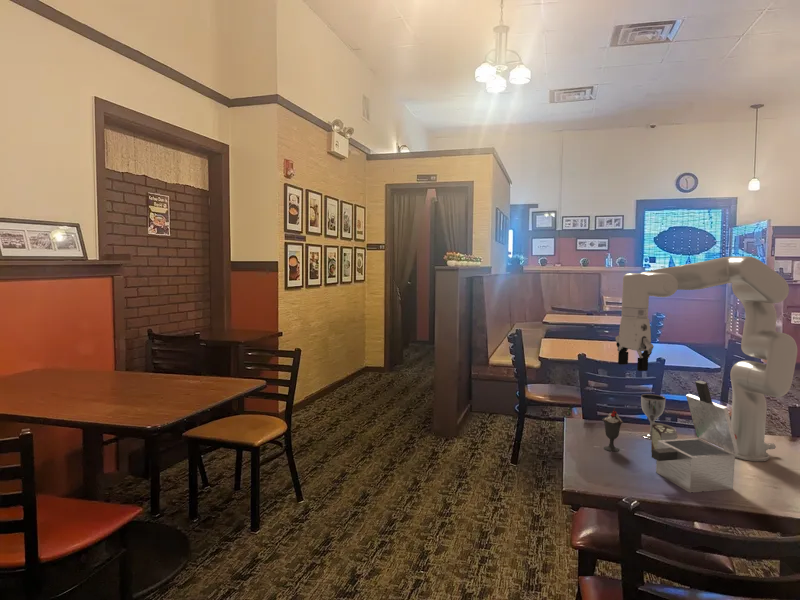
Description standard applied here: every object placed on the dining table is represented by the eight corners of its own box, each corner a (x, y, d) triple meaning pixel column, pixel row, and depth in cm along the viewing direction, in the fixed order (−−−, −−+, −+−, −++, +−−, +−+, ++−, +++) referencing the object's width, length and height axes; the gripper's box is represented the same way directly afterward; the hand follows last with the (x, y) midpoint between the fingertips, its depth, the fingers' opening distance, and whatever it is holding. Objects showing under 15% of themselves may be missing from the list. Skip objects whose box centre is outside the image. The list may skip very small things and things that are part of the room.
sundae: (611, 453, 173) (613, 409, 172) (596, 447, 179) (598, 404, 178) (626, 451, 176) (628, 407, 175) (611, 444, 182) (613, 402, 181)
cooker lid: (697, 437, 160) (705, 433, 161) (735, 454, 146) (744, 450, 147) (681, 377, 158) (689, 373, 158) (718, 389, 144) (727, 385, 144)
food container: (681, 466, 164) (683, 435, 163) (660, 464, 165) (662, 433, 164) (669, 452, 176) (671, 423, 175) (650, 450, 177) (651, 421, 176)
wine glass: (667, 440, 187) (669, 399, 185) (645, 440, 187) (647, 399, 185) (656, 433, 194) (658, 394, 193) (635, 433, 195) (637, 393, 193)
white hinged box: (696, 469, 161) (697, 437, 160) (732, 489, 147) (735, 454, 147) (638, 473, 157) (639, 441, 156) (670, 494, 144) (672, 459, 143)
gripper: (664, 315, 153) (661, 372, 155) (628, 310, 170) (626, 361, 172) (641, 316, 152) (639, 373, 153) (607, 310, 169) (605, 362, 170)
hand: (632, 367), depth 163 cm, fingers open, 9 cm apart
